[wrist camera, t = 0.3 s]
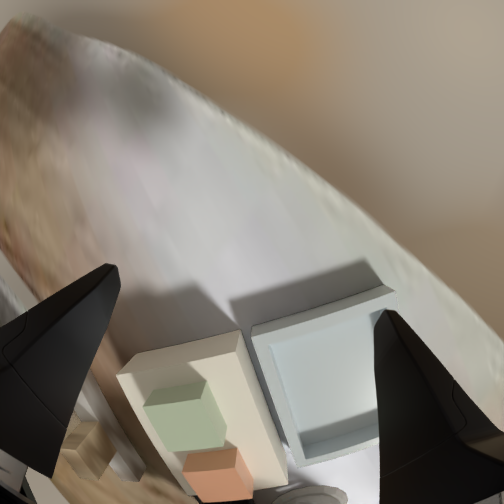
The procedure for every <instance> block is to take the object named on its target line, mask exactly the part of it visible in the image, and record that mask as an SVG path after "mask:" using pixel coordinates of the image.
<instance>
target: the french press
mask: <svg viewBox="0 0 504 504" xmlns="http://www.w3.org/2000/svg"><path fill="white" fill-rule="evenodd" d="M347 501H348V498H347V495H346V493H345V492H343V491H342V490H340V489H339V488H335V487H330V486H308V487H304V488H300V489H296V490H292V491H290V492H288V493H285V494H283V495H281V496H279V497H278V498H277V499H276V500H275V501H274V502H273V503H272V504H346V503H347Z"/></svg>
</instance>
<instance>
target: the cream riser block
mask: <svg viewBox="0 0 504 504" xmlns="http://www.w3.org/2000/svg"><path fill="white" fill-rule="evenodd" d="M116 377H117V379H118V381H119V383H120V385H121V387H122V389H123V391H124V393H125V395H126V397H127V399H128V401H129V403H130V404H131V406H132V408H133V410H134V412H135V414H136V416H137V417H138V419H139V421H140V423H141V424H142V426H143V428H144V430H145V431H146V433H147V435H148V436H149V438H150V440H151V441H152V443H153V445H154V446H155V448H156V449H157V451H158V453H159V454H160V456H161V457H162V459H163V460H164V462H165V463H166V465H167V466H168V468H169V469H170V471H171V472H172V474H173V475H174V477H175V478H176V479H177V481H178V482H179V484H180V485H181V486H182V488H183V489H184V491H185V492H186V493H187V495H188V496H192V495H197V494H196V493H195V491H194V490H193V489H192V487H191V486H190V484H189V483H188V481H187V480H186V479H185V477H184V476H183V474H182V473H181V472H182V469H183V467H184V464H185V461H186V458H187V455H188V454H191V453H201V452H210V451H219V450H226V449H233V448H238V450H239V452H240V454H241V456H242V458H243V460H244V462H245V464H246V466H247V467H248V469H249V471H250V473H251V475H252V477H253V479H254V483H253V490H259V489H266V488H272V487H277V486H283V485H288V473H287V460H286V453H285V450H284V448H283V445H282V443H281V440H280V437H279V435H278V432H277V429H276V427H275V424H274V421H273V419H272V416H271V413H270V411H269V408H268V405H267V403H266V400H265V397H264V394H263V392H262V389H261V386H260V383H259V381H258V378H257V375H256V372H255V369H254V367H253V364H252V361H251V358H250V355H249V352H248V349H247V347H246V344H245V341H244V338H243V335H242V332H241V329H240V330H236V331H232V332H228V333H224V334H220V335H217V336H213V337H208V338H204V339H200V340H196V341H192V342H187V343H183V344H179V345H174V346H170V347H165V348H161V349H156V350H151V351H146V352H141V353H136V355H135V356H134V357H133V358H132V359H131V360H130V361H129V362H128V363H127V364H126V365H125V366H124V367H123V368H122V369H121V370H120V371H119V372H118V373H117V374H116ZM203 381H207V382H208V384H209V387H210V389H211V391H212V394H213V396H214V398H215V401H216V403H217V405H218V407H219V409H220V412H221V414H222V416H223V418H224V420H225V423H226V425H227V431H226V436H225V442H224V446H223V447H216V448H208V449H199V450H188V451H176V452H168V451H167V449H166V448H165V446H164V444H163V443H162V441H161V439H160V438H159V436H158V434H157V433H156V431H155V429H154V427H153V426H152V424H151V422H150V420H149V418H148V417H147V415H146V413H145V411H144V409H143V407H142V406H143V405H144V403H145V402H146V400H147V399H148V397H149V396H150V394H151V393H152V391H153V390H156V389H163V388H169V387H175V386H181V385H187V384H192V383H197V382H203Z"/></svg>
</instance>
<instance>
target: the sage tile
mask: <svg viewBox="0 0 504 504" xmlns="http://www.w3.org/2000/svg"><path fill="white" fill-rule="evenodd" d="M142 407H143V409H144V411H145V413H146V415H147V417H148V418H149V420H150V422H151V424H152V426H153V427H154V429H155V431H156V433H157V434H158V436H159V438H160V439H161V441H162V443H163V444H164V446H165V448H166V449H167V451H168V452H176V451H188V450H199V449H208V448H216V447H223V446H224V442H225V436H226V431H227V425H226V423H225V420H224V418H223V416H222V414H221V412H220V409H219V407H218V405H217V403H216V401H215V398H214V396H213V394H212V391H211V389H210V387H209V384H208V382H207V381H203V382H197V383H192V384H187V385H181V386H175V387H169V388H163V389H156V390H153V391H152V393H151V394H150V396H149V397H148V399H147V400H146V402H145V403H144V405H143V406H142Z"/></svg>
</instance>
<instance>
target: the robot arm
mask: <svg viewBox="0 0 504 504" xmlns="http://www.w3.org/2000/svg"><path fill="white" fill-rule="evenodd" d="M120 288H121V282H120V277H119V272H118V267H117V266H116V265H113V264H108V263H105V264H103V265H102V266H100V267H98V268H96V269H95V270H93V271H91V272H90V273H88V274H86V275H84V276H83V277H81V278H79V279H78V280H76V281H74V282H73V283H71V284H69V285H68V286H66V287H64V288H63V289H61V290H60V291H58V292H56V293H55V294H53V295H51V296H50V297H48V298H47V299H45V300H44V301H42V302H40V303H39V304H37V305H36V306H34V307H33V308H31V309H29V310H28V311H26V312H25V313H23V314H22V315H20V316H19V317H17V318H15V319H14V320H12V321H11V322H9V323H7V324H6V325H4V326H2V327H0V504H37V502H36V500H35V498H34V496H33V493H32V491H31V489H30V487H29V484H28V482H27V479H26V477H25V475H26V472H27V469H28V467H30V468H32V469H33V470H35V471H37V472H39V473H41V474H43V475H45V476H46V477H48V478H50V479H51V478H52V476H53V473H54V469H55V466H56V462H57V459H58V456H59V452H60V449H61V446H62V443H63V440H64V437H65V434H66V431H67V429H66V428H67V427H68V424H69V421H70V418H71V416H72V413H73V410H74V407H75V405H76V402H77V399H78V396H79V394H80V391H81V389H82V386H83V383H84V381H85V378H86V376H87V373H88V371H89V369H90V366H91V364H92V361H93V359H94V357H95V354H96V352H97V350H98V347H99V345H100V343H101V340H102V338H103V336H104V334H105V331H106V329H107V327H108V324H109V321H110V318H111V315H112V312H113V309H114V306H115V303H116V300H117V297H118V294H119V292H120ZM373 337H374V376H375V386H376V398H377V411H378V426H379V449H380V477H381V478H380V500H379V504H504V432H503V431H501V430H499V429H498V428H497V427H496V426H495V425H494V424H493V423H492V422H491V421H490V420H489V418H488V417H487V416H486V415H485V414H484V413H483V412H482V411H481V410H480V409H479V407H478V406H477V405H476V404H475V403H474V402H473V401H472V400H471V398H470V397H469V396H468V395H467V394H466V393H465V391H464V390H463V389H462V388H461V387H460V385H459V384H458V383H457V382H456V380H454V378H453V377H452V375H451V374H450V373H449V372H448V371H447V369H446V368H445V367H444V366H443V364H442V363H441V362H440V361H439V360H438V358H437V357H436V356H435V355H434V354H433V352H432V351H431V350H430V349H429V348H428V347H427V345H426V344H425V343H424V342H423V341H422V340H421V338H420V337H419V336H418V335H417V334H416V333H415V332H414V330H413V329H412V328H411V327H410V326H409V325H408V324H407V323H406V321H405V320H404V319H403V318H402V317H401V316H400V315H399V314H398V312H397V311H395V310H389V309H385V310H384V311H383V312H382V313H381V315H380V317H379V319H378V320H377V322H376V324H375V326H374V330H373ZM193 496H194V497H195V498H196V500H197V501H198V502H199V504H255V503H254V501H253V500H252V499H244V500H235V501H223V502H207V503H203V502H202V501H201V499H200V498H199V497H198V495H193Z"/></svg>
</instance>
